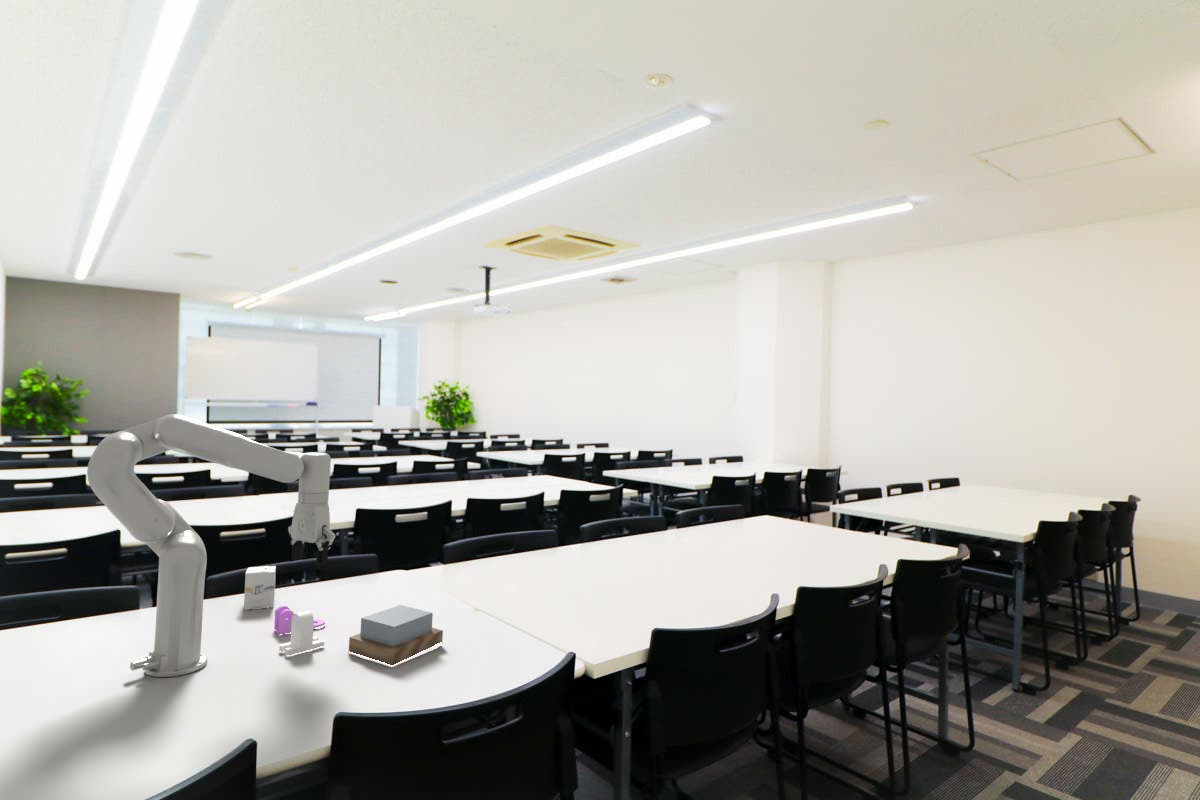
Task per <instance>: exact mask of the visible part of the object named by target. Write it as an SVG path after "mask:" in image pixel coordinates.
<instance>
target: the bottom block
mask: <svg viewBox="0 0 1200 800" xmlns="http://www.w3.org/2000/svg"><path fill="white" fill-rule="evenodd" d="M443 634H444V630H442V629H439V628H435V627H432V631H431V632H428V633H426V634H423V635H421V636H418V637H416V638H413V639H411V640H408V641H406V642H403V643H401V644H398V645H396V646H390V645H387V644H383V643H380V642H376V641H373V640H369V639H366V638H362V637H360V633H357V634H355V635H352V636H349V640H348V652H349V651H350V652H353V653H356V654H360V655H363V656H366V657H369V658H372V659H375V660H379V661H381V662H385V663H387V664H390V665H394V664H396V663H398V662H400V661H402V660H404V659H407V658H409V657H411V656H413V655H415V654H417V653H419V652H421V651H423V650H426V649H428V648H430V647H432V646H434V645H435V644H437V643H440V642H442V643H443V638H444V637H443Z"/></svg>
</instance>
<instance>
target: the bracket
mask: <svg viewBox="0 0 1200 800" xmlns="http://www.w3.org/2000/svg"><path fill="white" fill-rule="evenodd" d="M294 614H295V613H294V612H293V610H291V608H289V607H288V606H287V605H284V604H283V605H279V606H278V607H277V608H276V610H275V612H274V629H275V630H276V632H277V633H278V634H279V635H280V634H285V633H290V632H291V623H292V617H293V615H294ZM313 619H314V623H315V624H314V628H315V627H319V626H322V625H324V624H325V625H326V620H324V619H320V618H319V619H318V618H317V619H315V618H313ZM276 632H275V633H276ZM277 633H276V634H277ZM278 634H277V635H278ZM279 635H278V636H279Z"/></svg>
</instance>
